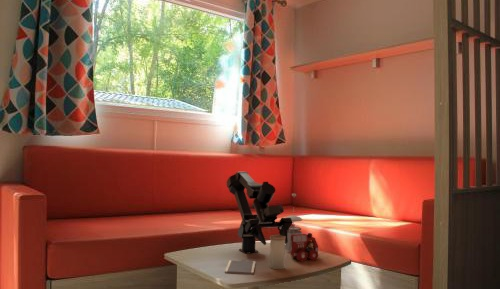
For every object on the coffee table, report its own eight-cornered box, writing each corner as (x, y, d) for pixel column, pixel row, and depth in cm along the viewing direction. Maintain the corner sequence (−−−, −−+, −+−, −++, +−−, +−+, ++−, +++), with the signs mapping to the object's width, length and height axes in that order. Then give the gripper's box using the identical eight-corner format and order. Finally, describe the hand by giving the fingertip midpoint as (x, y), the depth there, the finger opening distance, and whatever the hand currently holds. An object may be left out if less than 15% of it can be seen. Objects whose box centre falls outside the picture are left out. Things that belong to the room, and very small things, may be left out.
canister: (266, 266, 162) (267, 235, 162) (279, 264, 165) (280, 234, 165) (273, 270, 157) (274, 238, 157) (287, 268, 159) (288, 237, 160)
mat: (229, 261, 166) (229, 260, 166) (255, 263, 166) (255, 261, 166) (224, 272, 151) (225, 270, 151) (253, 274, 151) (253, 272, 151)
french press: (304, 248, 193) (306, 192, 193) (302, 254, 182) (304, 195, 182) (282, 247, 195) (284, 191, 195) (279, 252, 184) (281, 194, 184)
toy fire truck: (322, 260, 174) (322, 234, 174) (295, 262, 169) (295, 235, 169) (313, 256, 180) (313, 231, 180) (286, 258, 175) (287, 232, 176)
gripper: (248, 198, 163) (261, 232, 152) (290, 197, 171) (305, 229, 161) (239, 216, 170) (251, 250, 159) (280, 214, 178) (294, 246, 168)
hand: (276, 243), depth 162 cm, fingers open, 9 cm apart
